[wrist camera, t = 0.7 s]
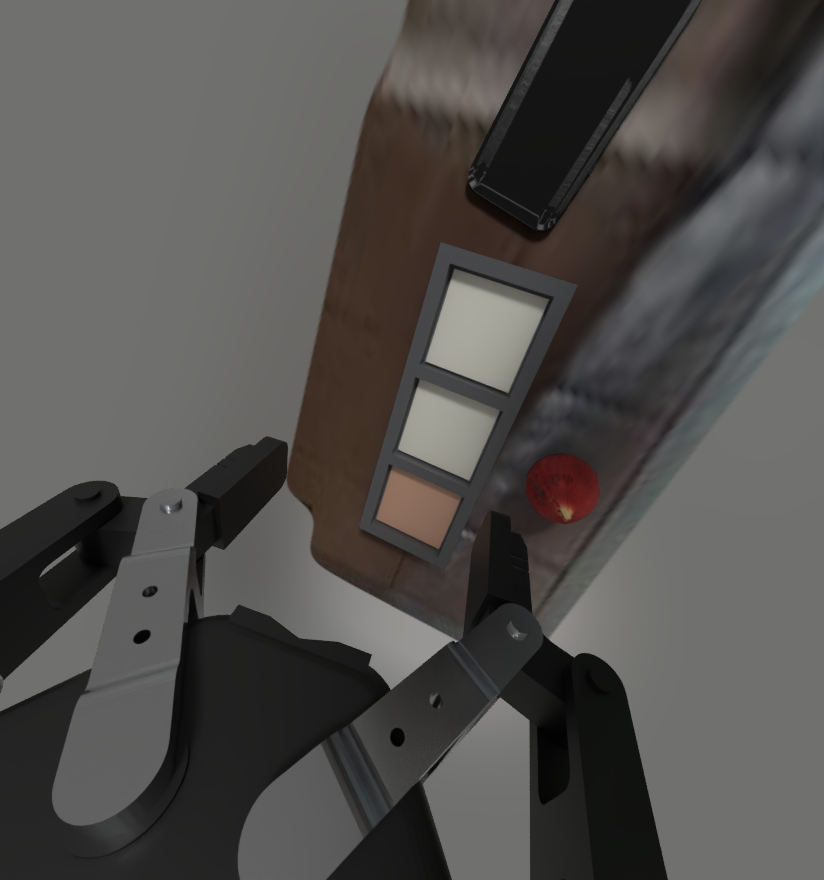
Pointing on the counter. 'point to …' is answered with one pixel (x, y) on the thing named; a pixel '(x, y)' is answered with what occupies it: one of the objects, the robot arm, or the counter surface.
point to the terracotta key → (417, 507)
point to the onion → (562, 488)
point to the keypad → (465, 382)
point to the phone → (572, 101)
